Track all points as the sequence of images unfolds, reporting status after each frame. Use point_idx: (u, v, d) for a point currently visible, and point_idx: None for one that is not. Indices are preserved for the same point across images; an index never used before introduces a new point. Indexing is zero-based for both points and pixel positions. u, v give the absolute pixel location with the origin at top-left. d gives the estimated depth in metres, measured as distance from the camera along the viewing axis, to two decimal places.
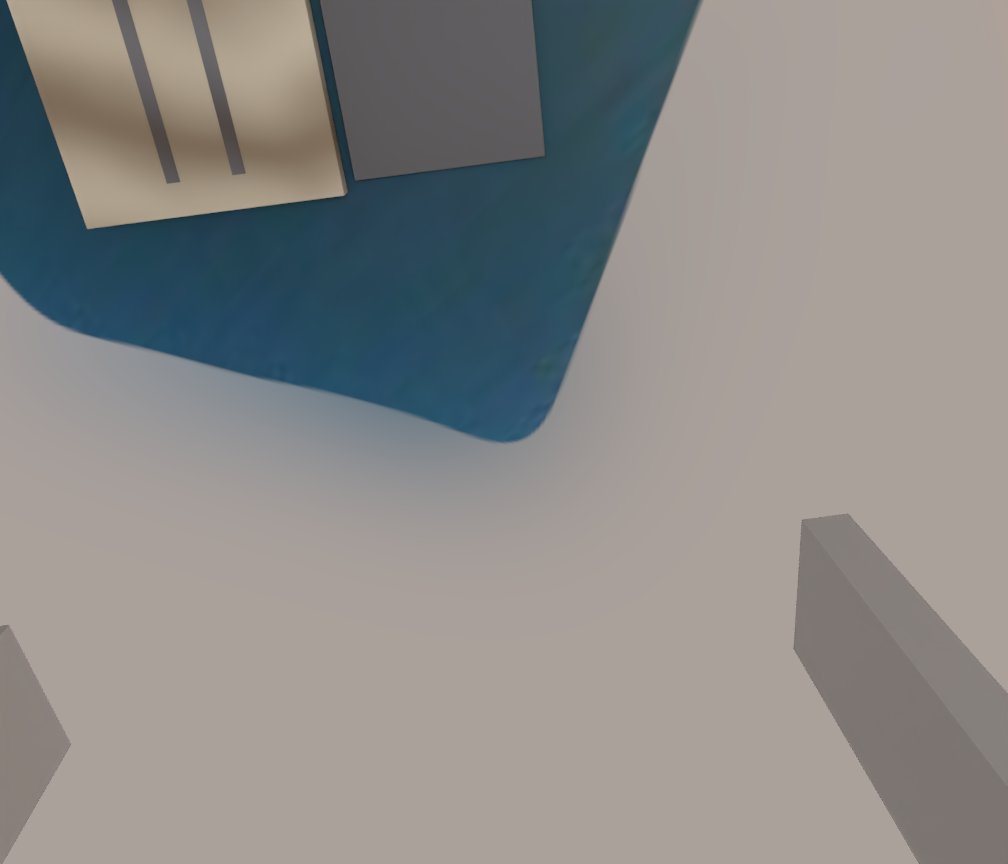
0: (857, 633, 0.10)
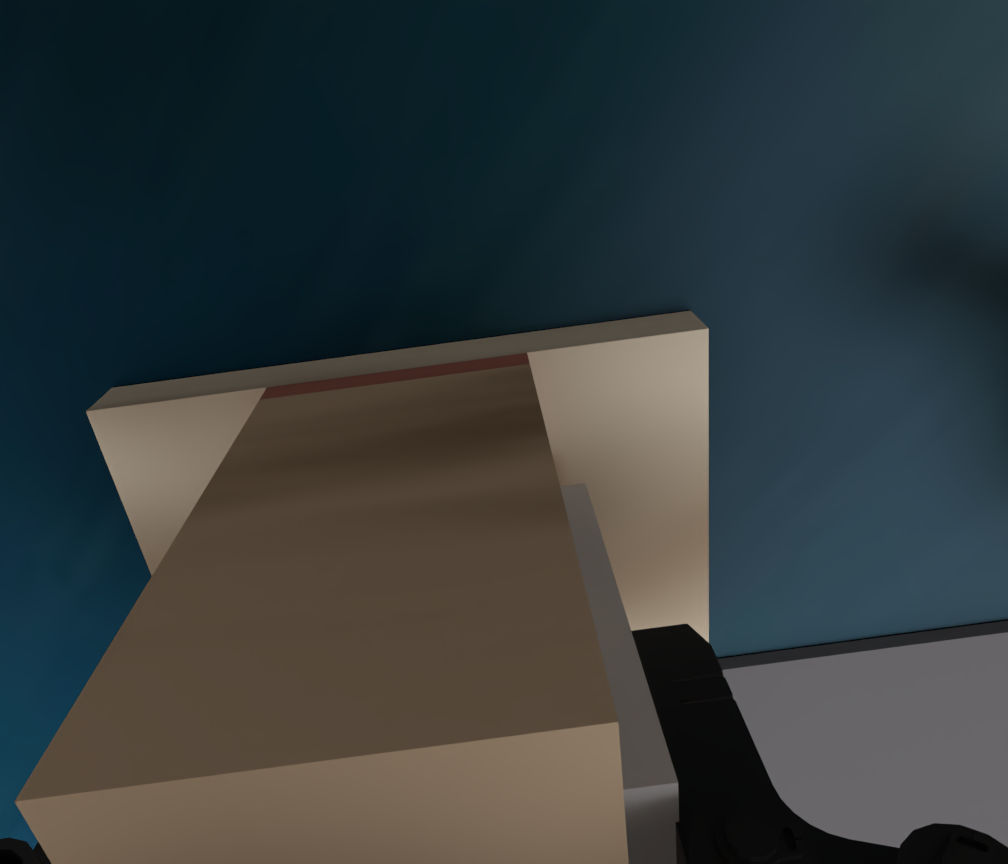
0: None
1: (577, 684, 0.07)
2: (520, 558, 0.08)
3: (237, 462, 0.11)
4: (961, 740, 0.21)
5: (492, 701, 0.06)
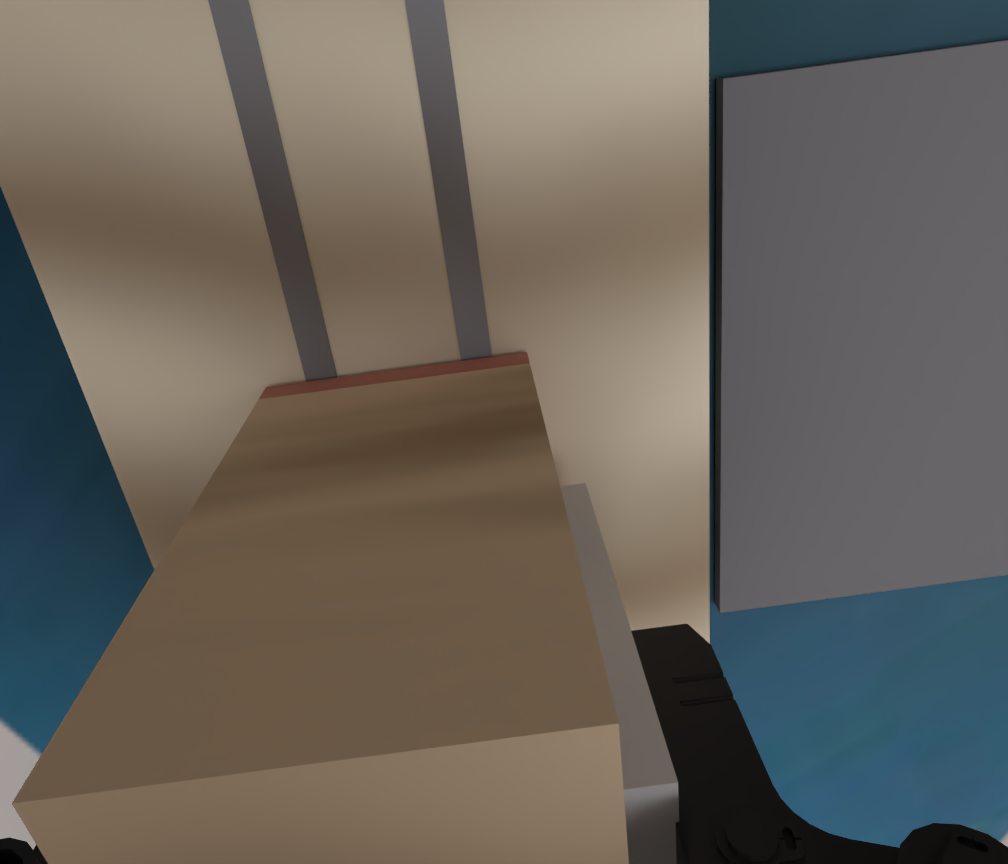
0: None
1: (577, 687, 0.07)
2: (520, 559, 0.08)
3: (236, 462, 0.11)
4: None
5: (491, 702, 0.06)
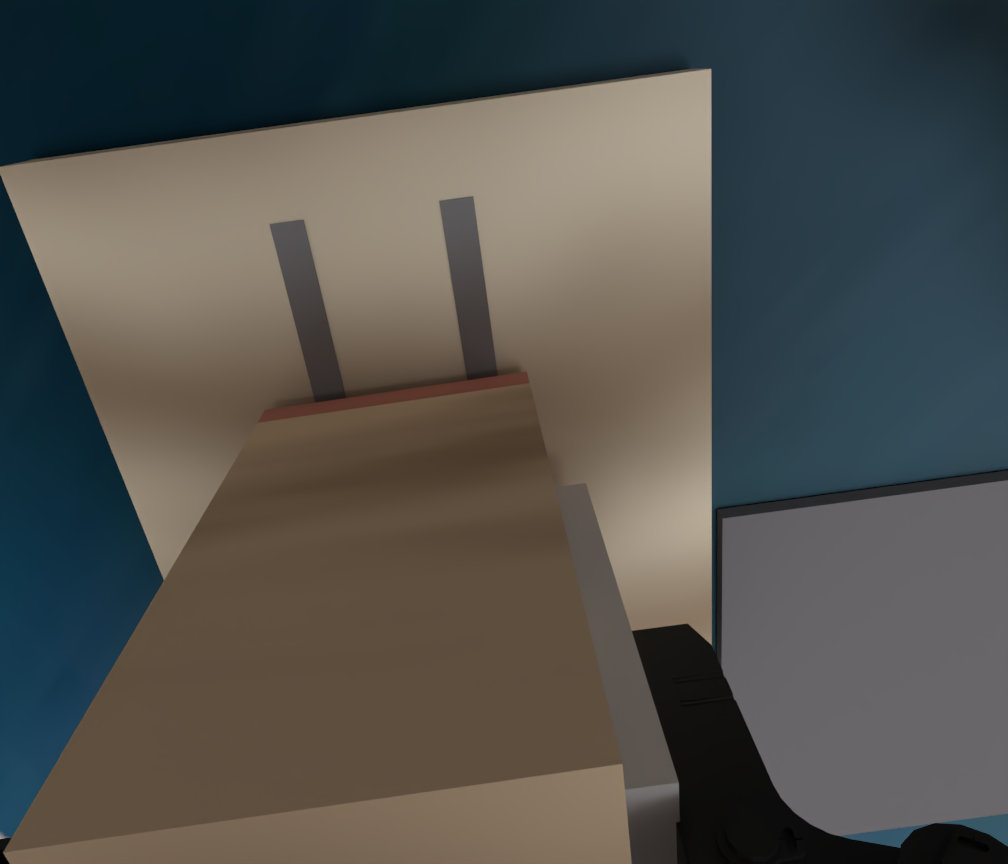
0: None
1: (580, 724, 0.06)
2: (520, 588, 0.08)
3: (234, 488, 0.11)
4: (988, 607, 0.19)
5: (492, 743, 0.06)
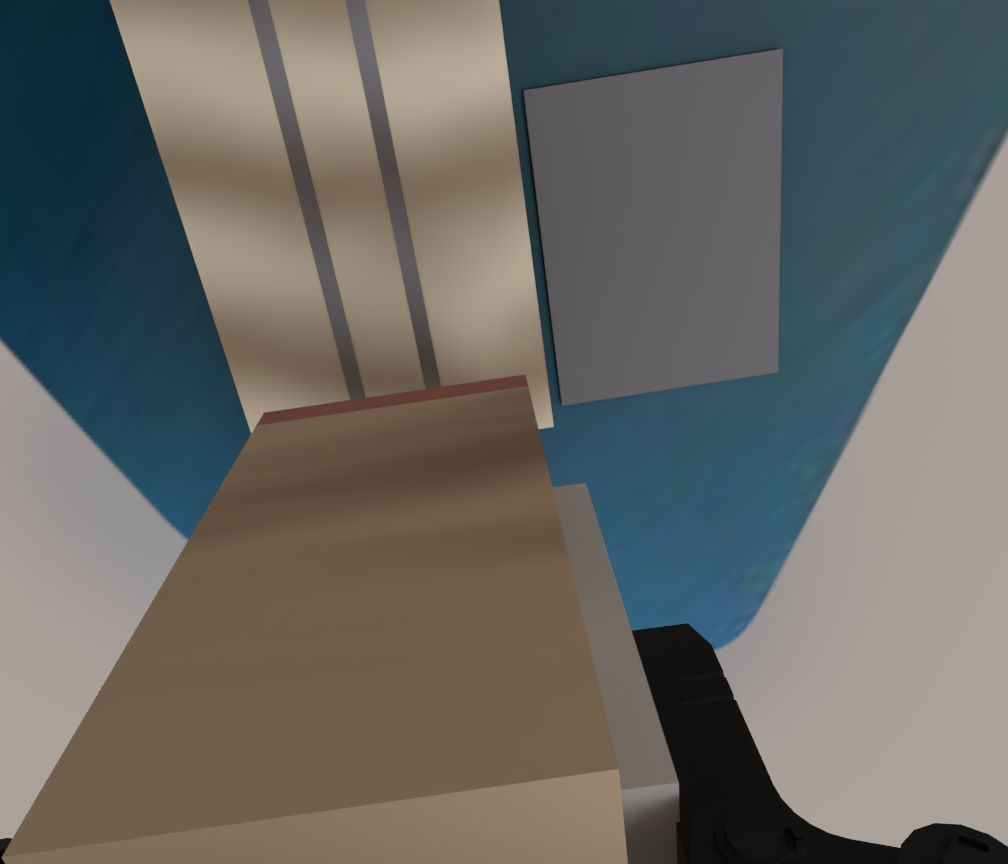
0: None
1: (577, 729, 0.06)
2: (518, 593, 0.08)
3: (233, 491, 0.11)
4: (721, 173, 0.27)
5: (489, 747, 0.06)
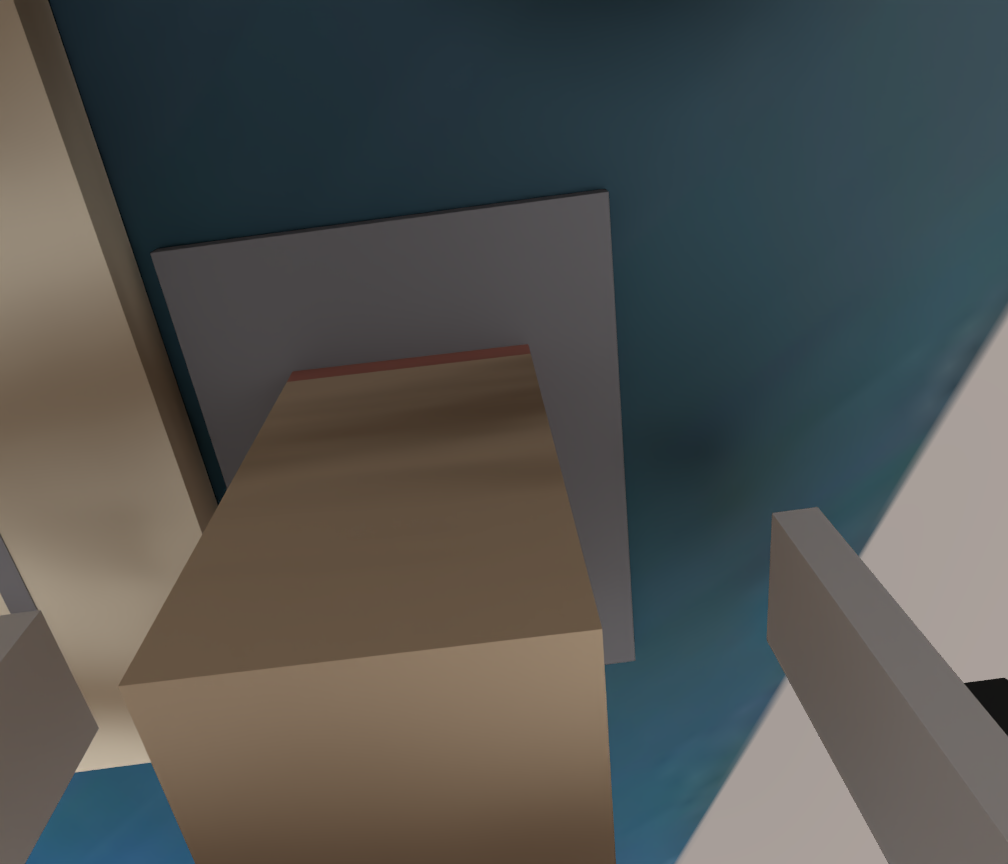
0: (822, 621, 0.11)
1: (570, 603, 0.08)
2: (523, 511, 0.10)
3: (272, 434, 0.13)
4: None
5: (501, 615, 0.08)
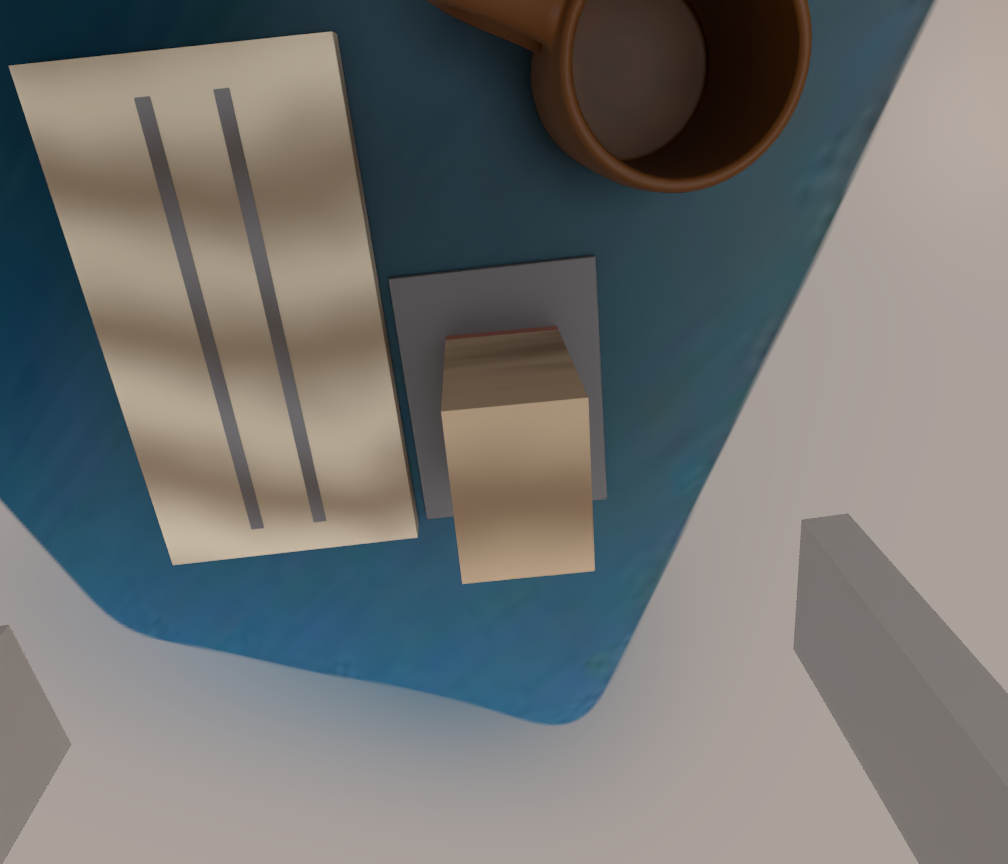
0: (857, 633, 0.10)
1: (578, 393, 0.26)
2: (561, 375, 0.28)
3: (451, 357, 0.31)
4: None
5: (556, 396, 0.26)
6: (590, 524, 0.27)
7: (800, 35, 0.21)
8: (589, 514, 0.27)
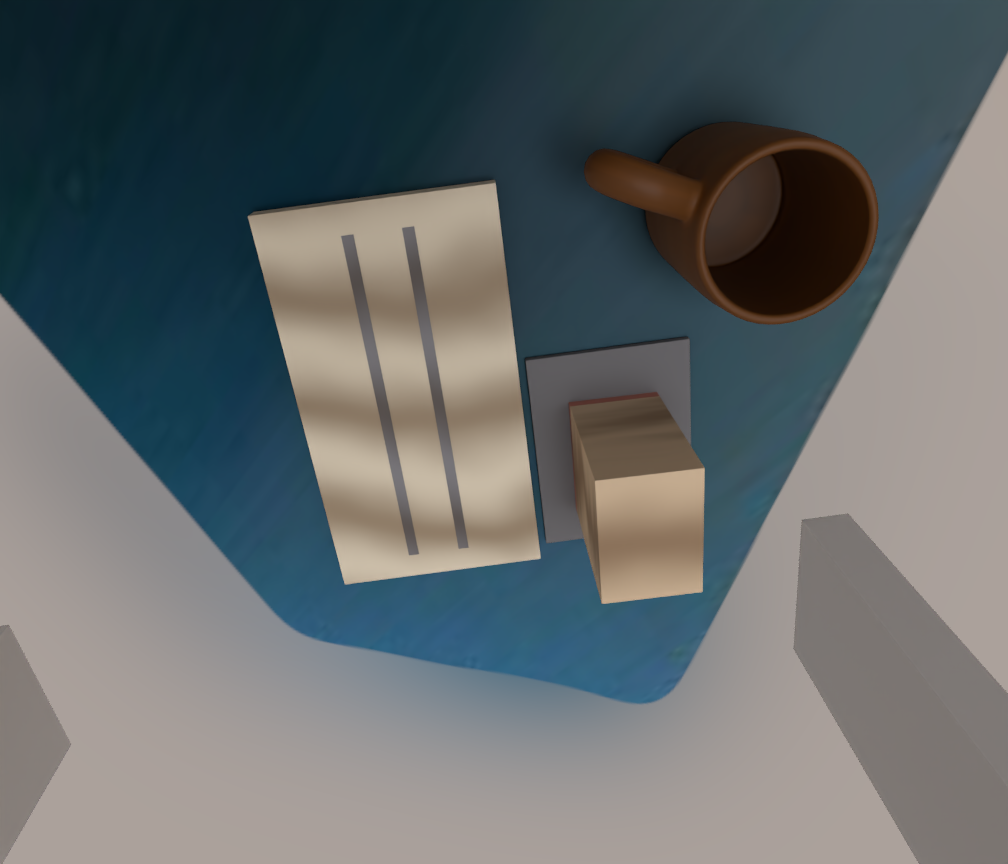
0: (857, 633, 0.10)
1: (695, 464, 0.34)
2: (676, 445, 0.36)
3: (581, 425, 0.39)
4: None
5: (679, 466, 0.34)
6: (701, 558, 0.36)
7: (870, 217, 0.30)
8: (700, 551, 0.36)
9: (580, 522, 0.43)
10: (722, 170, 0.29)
